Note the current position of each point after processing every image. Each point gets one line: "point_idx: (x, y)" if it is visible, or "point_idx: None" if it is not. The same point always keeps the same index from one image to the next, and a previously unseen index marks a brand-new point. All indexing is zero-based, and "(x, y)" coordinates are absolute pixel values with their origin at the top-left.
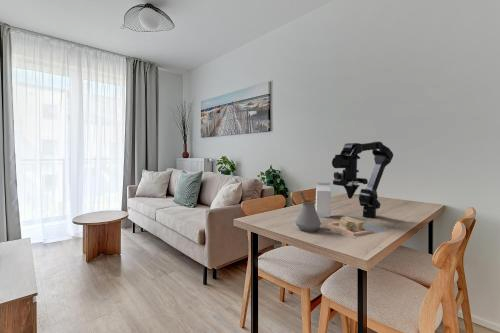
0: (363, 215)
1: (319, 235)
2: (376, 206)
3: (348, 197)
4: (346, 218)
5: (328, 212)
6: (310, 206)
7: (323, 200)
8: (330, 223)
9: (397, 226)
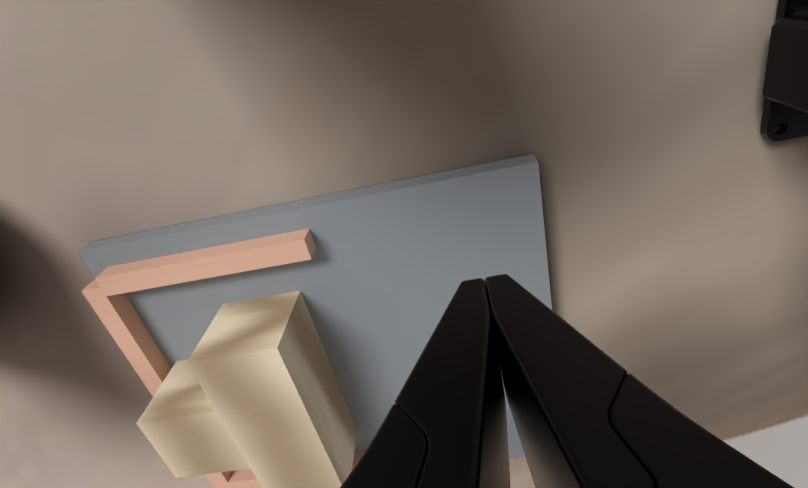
0: (789, 39)
1: (6, 386)
2: None
3: (458, 291)
4: (234, 399)
5: None
6: None
7: None
8: (114, 288)
9: (782, 357)
